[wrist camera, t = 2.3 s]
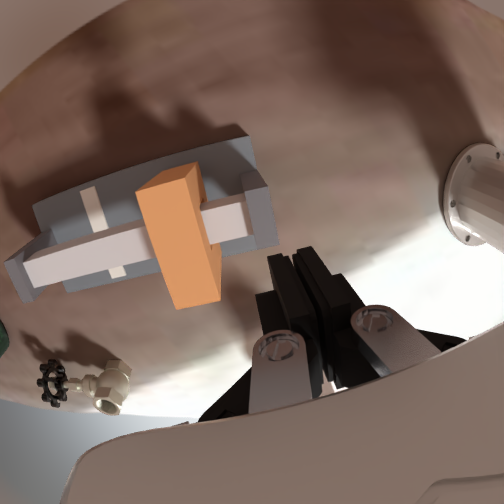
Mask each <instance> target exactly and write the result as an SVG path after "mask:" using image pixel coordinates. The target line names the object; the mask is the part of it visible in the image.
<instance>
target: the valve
mask: <svg viewBox="0 0 504 504" xmlns="http://www.w3.org/2000/svg"><path fill="white" fill-rule="evenodd" d="M55 364H57V361H56V360H55V359H49V360H48V365H47V364H41V365H40V371H41V372H42V373H43V377H42V379H40V378H39V379H37V385H38V386H39V387H43V389H44V393H43V394H42V400H43V401H44V402H51V406H52V407H57V408H59V407H60V403H58V402H57V399H58V400H59V401H67V395H66V392H67V391H68V389H69V390H70V391H73V392H82V391H83V392H84V393H85V395H86V396H87V397H91V398H94V399H93V406H94V407H95V408H96V409H97V410H99V411H100V412H102V413H104V414H107V415H119V413H120V410H121V406H122V402H123V401H124V400H125V399H126V398H127V396H128V394H129V390H130V386H129V378H130V375H131V371H132V369H131V368H130V367H129V366H128V365H127V364H125V363H124V362H123V361H122V360H108V361H107V364H106V366H105V369H104V372H102V373H101V374H100V375H99V377H96V376H95V375H88V374H87V375H85V376H84V378H83V379H82V380H80V379H78V378H70V379H69V381H68V379H67V375H66V374H65V369H64V367H63V366H57V367H56V368H55ZM52 371H53V372H54V373H55V374H56V376H57V377H51V378H50V377H48V376H49V374H50V373H51V372H52ZM48 382H49V386H50V388H51V389H53V390H56V391H57V393H56V394H55V395H52V393H51V392H50V390H49V388H48ZM49 398H50V399H51V400H50V399H49Z"/></svg>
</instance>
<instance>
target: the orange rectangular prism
mask: <svg viewBox="0 0 504 504" xmlns="http://www.w3.org/2000/svg"><path fill="white" fill-rule="evenodd" d="M135 193H136V196H137V200H138V203H139V206H140V209H141V212H142V215H143V219H144V222H145V225H146V228H147V231H148V234H149V237H150V240H151V243H152V245H153V248H154V251H155V254H156V257H157V260H158V262H159V265H160V268H161V271H162V273H163V276H164V279H165V281H166V284H167V287H168V289H169V292H170V295H171V297H172V300H173V302H174V305H175V307H176V310H177V309H182V308H187V307H192V306H197V305H202V304H207V303H212V302H216V301H221V258H222V251H221V247H220V243H215V244H211V245H210V243H209V240H208V236H207V233H206V229H205V226H204V222H203V218H202V215H201V211H200V204H201V203H204V202H208V199H207V195H206V191H205V187H204V183H203V179H202V176H201V172H200V168H199V164H198V161H197V162H193V163H189V164H186V165H182V166H178V167H175V168H171V169H168V170H164V171H162V172H160V173H159V174H158V175H156V176H155V177H154V178H152V179H151V180H150V181H149V182H147V183H146V184H145V185H143V186H142V187H141V188H140V189H138V190H137V191H136V192H135Z"/></svg>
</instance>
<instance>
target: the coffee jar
mask: <svg viewBox="0 0 504 504" xmlns="http://www.w3.org/2000/svg"><path fill="white" fill-rule="evenodd" d="M8 347H9V338H8V335H7V333H6V330H5V328H4V326H3V324H2V323H1V321H0V358H1V356H2V355H3V354H4V352H5V351H6V350H7V348H8Z"/></svg>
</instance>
